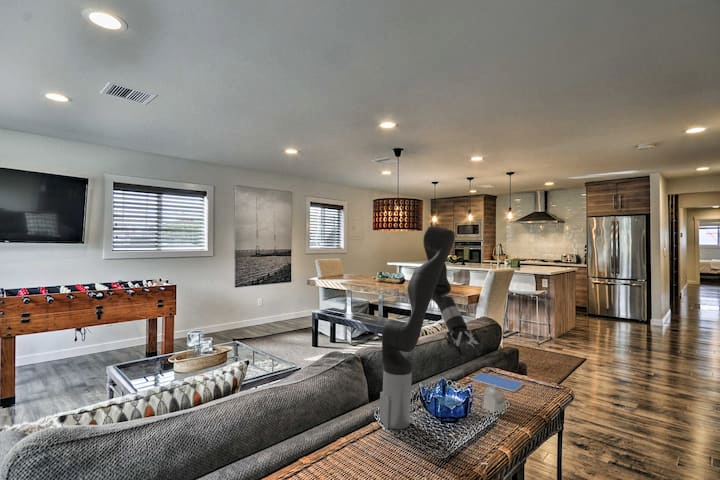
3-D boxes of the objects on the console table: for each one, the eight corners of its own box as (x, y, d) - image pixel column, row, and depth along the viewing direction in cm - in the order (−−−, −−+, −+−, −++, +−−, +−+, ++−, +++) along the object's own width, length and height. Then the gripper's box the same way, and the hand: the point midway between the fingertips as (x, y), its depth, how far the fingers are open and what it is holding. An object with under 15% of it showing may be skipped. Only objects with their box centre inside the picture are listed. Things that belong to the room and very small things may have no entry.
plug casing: (494, 416, 132) (495, 389, 132) (483, 409, 137) (484, 383, 138) (504, 414, 134) (505, 387, 134) (493, 407, 139) (494, 382, 139)
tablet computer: (469, 381, 167) (469, 378, 167) (481, 374, 176) (482, 371, 176) (514, 394, 154) (514, 390, 154) (524, 386, 163) (524, 383, 163)
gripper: (443, 315, 152) (460, 352, 142) (472, 314, 158) (490, 349, 147) (435, 325, 157) (451, 362, 147) (463, 323, 163) (480, 358, 152)
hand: (470, 355), depth 147 cm, fingers open, 8 cm apart
